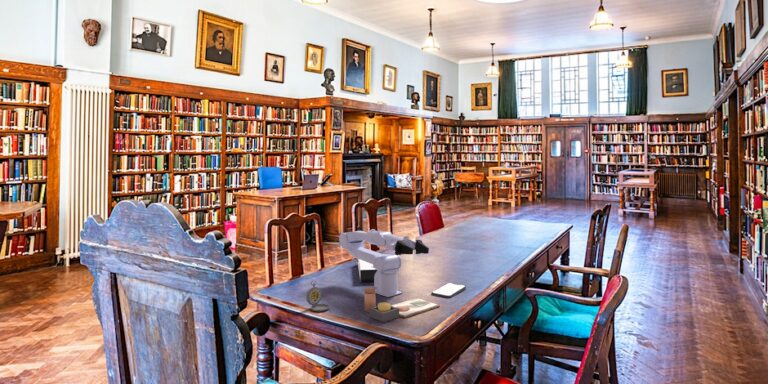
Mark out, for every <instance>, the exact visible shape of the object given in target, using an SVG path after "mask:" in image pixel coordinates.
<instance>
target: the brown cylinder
mask: <svg viewBox="0 0 768 384" xmlns="http://www.w3.org/2000/svg"><path fill="white" fill-rule="evenodd" d="M363 291H364V297H363V298H364V311H365V312H368V313H370V308H372V307H376V306H377V305H376V304H377V303H376V293H375V287H374V286H367V287H366V286H365V287H364V289H363Z"/></svg>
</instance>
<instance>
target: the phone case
mask: <svg viewBox="0 0 768 384" xmlns="http://www.w3.org/2000/svg"><path fill="white" fill-rule="evenodd" d="M466 289H467V286H466V285H464V284H458V283H451V282H448V283H445V284H444V285H442V286H440V287H438V288H437V289H435V290H433V291H431V293H430V294H431V295H432V296H434V297H439V298H445V299H452V298H453V297H455V296H457V295H458V294H460V293H462V292H463V291H465V290H466Z"/></svg>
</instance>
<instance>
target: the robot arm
mask: <svg viewBox="0 0 768 384" xmlns="http://www.w3.org/2000/svg"><path fill="white" fill-rule="evenodd" d="M338 241H339V244H340V247H341V248H342V249H344V250H346V251H347V252H348V253H349V254H350V255H351V256H352V257H353V258H355V259H357V260H358V259H360V260H363V261H365V262H368V263H371V264H373V268H375V269H376V270H377V272H376V273H375V276H374V282H373V283H374V285H373V287H375V294H378V295H380V296H383V297H385V298H386V297H387V298H389V297H390V298H391V297H394V296H397V295H401V294H403V292H402V291H400V290H398V272H399V271H400V269H401V267H402V258H401V256H402V255H413V254H414V251H415V255H420V254H425V255H426V254H429V251H430V248H429V247H428V246H427V245H426V244H424V242H423V240H421V239H416V240H415V241H414V240H412V239H409V236H408V235H403V237H402V236H398V235H395V234H393V233H392V232H391V231H389V230H387V231H382V230H376V229H374V228H372V229H370V230H369V231H367V232H366V231H363V230H356V231H349V232H348V231H347V232H341V233H340V235H339V237H338ZM365 241H366V242H367V243H368V244H369V245H375V246H377V248H383V247H384V248H386V249H389V250H390V251H394V254H391V253H390V254H387V253H385V254H383V253H381V252H377V251H374V250H371V249H368V248H366V244H365Z"/></svg>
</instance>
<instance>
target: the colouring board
mask: <svg viewBox="0 0 768 384" xmlns="http://www.w3.org/2000/svg"><path fill="white" fill-rule="evenodd" d="M391 306H393V307H396V308H399V317H398V318H401V319H408V318H411V317H414V316H417V315H420V314H423V313H425V312H428V311H432V310H434V309H437V308H440V304H437V303H434V302H431V301H427V300H425V299H422V298H418V297H414V298H411V299H408V300H405V301H401V302H399V303H394V304H392V305H391Z"/></svg>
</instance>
